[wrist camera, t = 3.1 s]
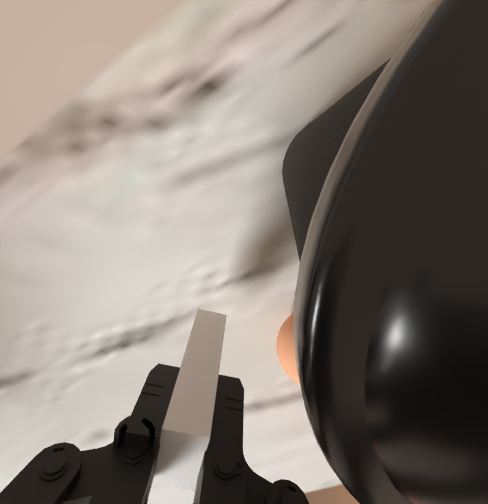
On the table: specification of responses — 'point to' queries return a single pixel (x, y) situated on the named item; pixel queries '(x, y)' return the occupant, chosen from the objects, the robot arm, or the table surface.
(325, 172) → the drinking cup
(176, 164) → the table surface
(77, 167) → the table surface
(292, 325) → the ball
